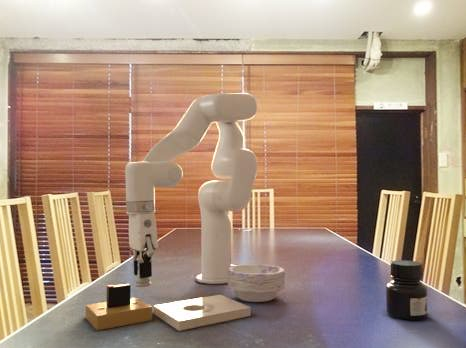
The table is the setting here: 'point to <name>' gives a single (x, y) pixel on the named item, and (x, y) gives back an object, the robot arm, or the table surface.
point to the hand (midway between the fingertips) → (142, 275)
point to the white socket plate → (200, 311)
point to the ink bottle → (406, 291)
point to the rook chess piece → (141, 281)
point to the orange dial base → (118, 314)
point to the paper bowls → (256, 281)
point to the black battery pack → (118, 295)
